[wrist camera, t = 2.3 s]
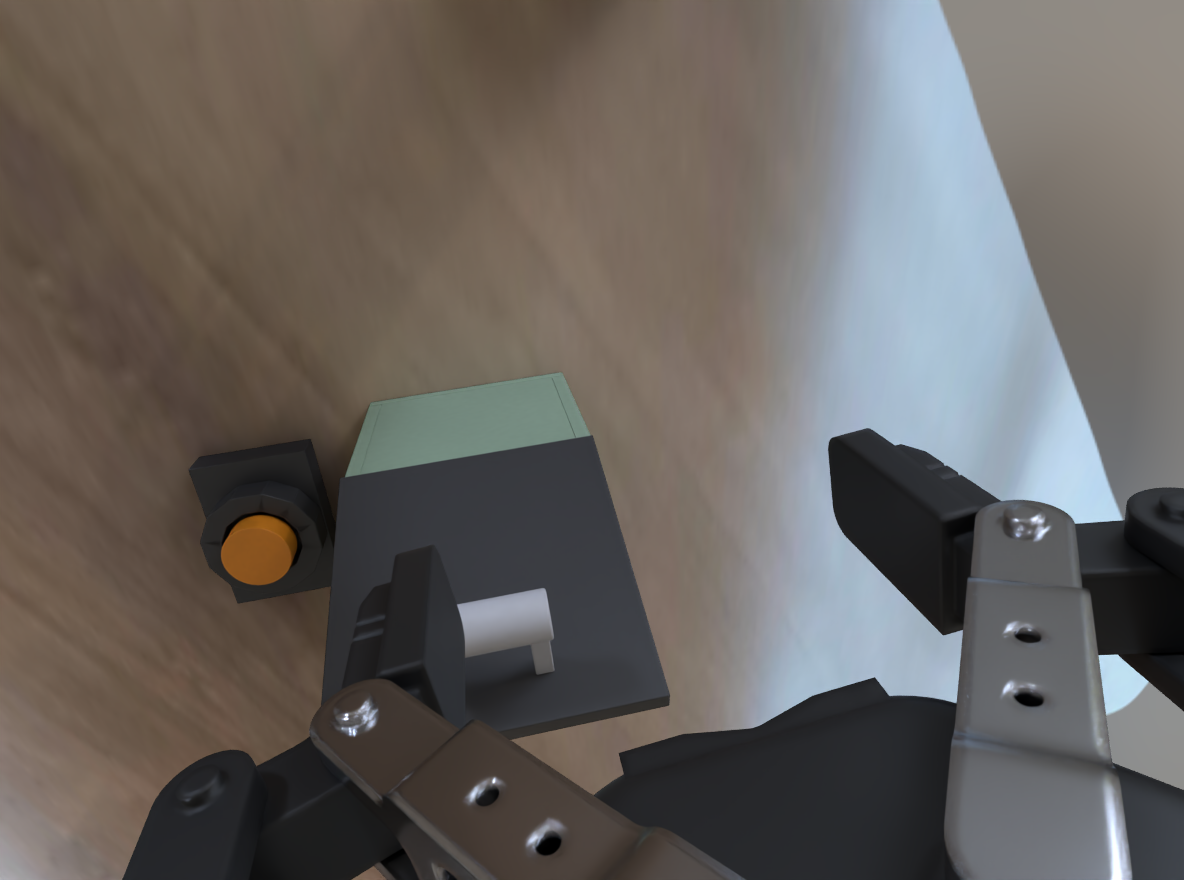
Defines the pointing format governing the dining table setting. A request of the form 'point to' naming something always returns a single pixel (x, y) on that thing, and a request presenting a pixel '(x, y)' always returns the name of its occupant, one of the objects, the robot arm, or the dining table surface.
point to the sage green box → (466, 423)
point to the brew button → (259, 550)
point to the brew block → (268, 511)
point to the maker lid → (509, 581)
